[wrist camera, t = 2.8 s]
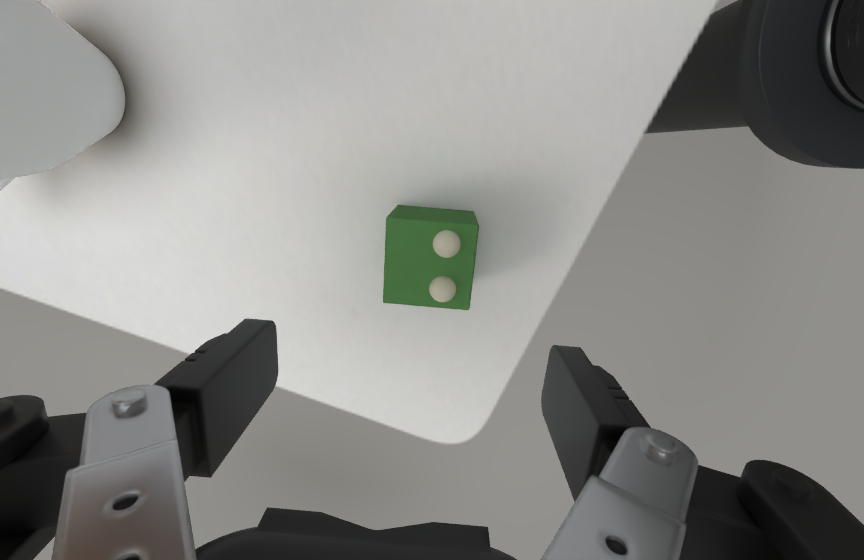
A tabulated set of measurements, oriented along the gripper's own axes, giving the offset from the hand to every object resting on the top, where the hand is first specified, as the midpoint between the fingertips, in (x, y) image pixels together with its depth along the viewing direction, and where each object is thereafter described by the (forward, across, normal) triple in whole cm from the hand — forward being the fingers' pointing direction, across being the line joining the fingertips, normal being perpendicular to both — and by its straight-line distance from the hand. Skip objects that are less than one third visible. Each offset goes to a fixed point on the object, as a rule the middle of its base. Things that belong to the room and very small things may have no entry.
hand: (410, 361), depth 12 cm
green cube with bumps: (+14, 0, 0) cm, 14 cm away
